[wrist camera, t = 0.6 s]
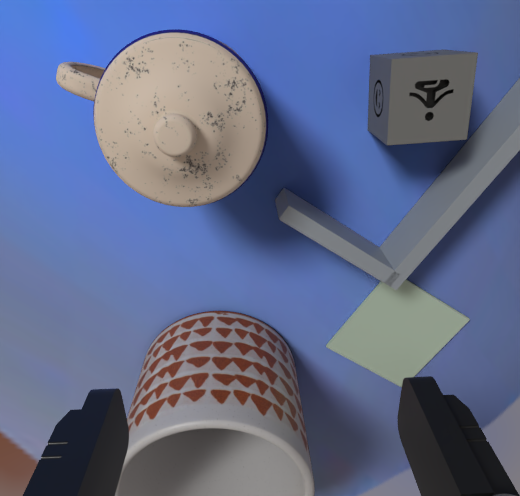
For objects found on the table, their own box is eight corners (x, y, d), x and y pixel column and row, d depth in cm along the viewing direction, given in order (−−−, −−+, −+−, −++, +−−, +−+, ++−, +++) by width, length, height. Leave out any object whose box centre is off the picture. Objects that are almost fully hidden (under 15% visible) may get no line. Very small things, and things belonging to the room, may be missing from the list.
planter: (320, 338, 41) (352, 458, 29) (258, 442, 46) (264, 579, 34) (174, 286, 38) (145, 396, 26) (125, 403, 43) (83, 538, 32)
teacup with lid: (280, 59, 31) (300, 72, 20) (238, 183, 34) (237, 249, 24) (100, -9, 29) (20, -33, 18) (76, 130, 32) (-4, 178, 22)
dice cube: (443, 49, 31) (477, 52, 26) (436, 124, 33) (466, 139, 29) (369, 55, 31) (391, 59, 26) (367, 129, 33) (387, 145, 29)
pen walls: (425, -17, 29) (451, -24, 26) (538, 79, 32) (576, 85, 28) (274, 200, 35) (278, 219, 31) (381, 265, 38) (396, 290, 34)
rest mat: (390, 269, 38) (391, 271, 38) (468, 317, 40) (470, 319, 40) (325, 345, 41) (326, 347, 41) (401, 385, 43) (402, 387, 43)
